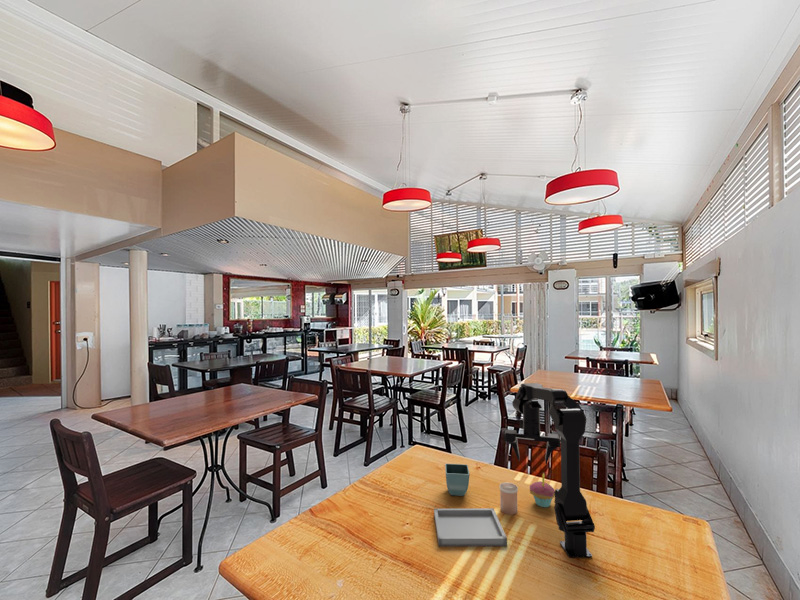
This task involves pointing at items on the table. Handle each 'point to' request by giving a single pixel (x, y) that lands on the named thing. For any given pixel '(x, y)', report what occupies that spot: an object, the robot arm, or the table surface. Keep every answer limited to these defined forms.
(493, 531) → the tray
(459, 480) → the flower pot
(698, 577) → the table surface
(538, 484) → the cupcake
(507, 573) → the table surface
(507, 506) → the cup
